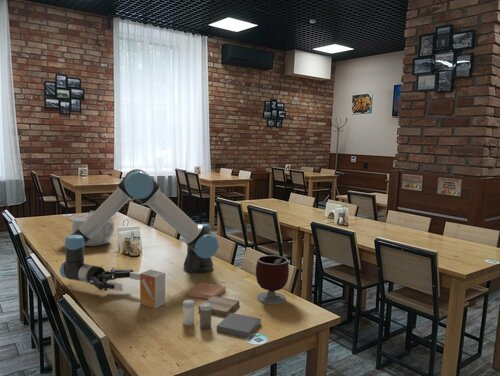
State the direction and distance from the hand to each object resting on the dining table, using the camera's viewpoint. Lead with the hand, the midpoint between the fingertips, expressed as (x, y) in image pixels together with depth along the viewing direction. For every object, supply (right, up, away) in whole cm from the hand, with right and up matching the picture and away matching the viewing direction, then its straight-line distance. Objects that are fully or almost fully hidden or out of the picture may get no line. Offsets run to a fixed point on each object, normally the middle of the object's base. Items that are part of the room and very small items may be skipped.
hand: (132, 282), depth 172 cm
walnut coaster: (+36, -9, -5) cm, 37 cm away
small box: (+9, -8, -3) cm, 12 cm away
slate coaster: (+44, -11, -21) cm, 50 cm away
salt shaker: (+26, -11, -19) cm, 34 cm away
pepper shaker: (+32, -11, -22) cm, 40 cm away
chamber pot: (-48, +4, +86) cm, 99 cm away
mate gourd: (+58, -9, +5) cm, 58 cm away
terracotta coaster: (+29, -7, +10) cm, 32 cm away
